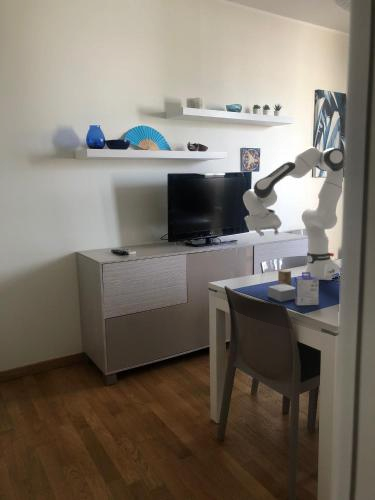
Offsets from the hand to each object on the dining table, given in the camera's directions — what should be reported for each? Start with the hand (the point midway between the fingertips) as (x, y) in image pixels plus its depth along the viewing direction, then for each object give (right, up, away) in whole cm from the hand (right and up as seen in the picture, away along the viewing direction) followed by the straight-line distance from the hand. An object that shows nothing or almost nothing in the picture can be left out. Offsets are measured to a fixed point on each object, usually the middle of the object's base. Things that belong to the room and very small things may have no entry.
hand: (269, 234), depth 218 cm
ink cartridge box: (+11, -33, -29) cm, 46 cm away
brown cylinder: (+6, -29, -6) cm, 30 cm away
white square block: (+3, -31, -19) cm, 36 cm away
